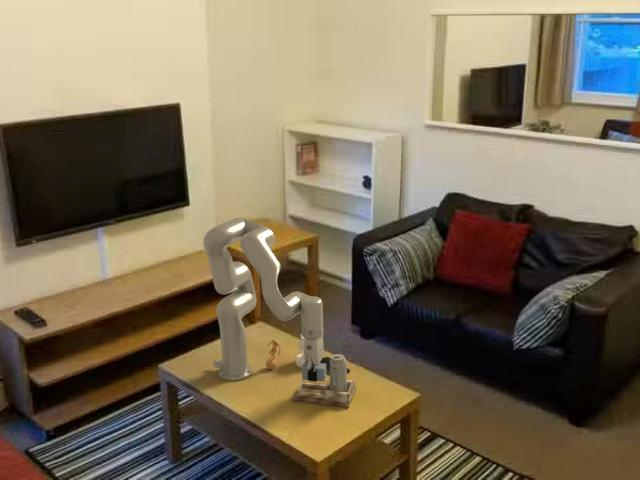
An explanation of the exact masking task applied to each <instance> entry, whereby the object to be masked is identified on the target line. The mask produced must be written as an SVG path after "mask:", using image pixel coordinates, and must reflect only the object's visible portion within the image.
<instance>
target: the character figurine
mask: <svg viewBox="0 0 640 480" xmlns="http://www.w3.org/2000/svg"><path fill="white" fill-rule="evenodd" d="M299 335H300V336H299V337H300V340H299V342H298V350H299V352H302V353H300V354H298V355H297V356H295V365H296V366H297V367H299V368H301V369H302V366H303V364H304V362H305V360H304V340H305V338H304V337H303V336H302V333H301V334H299Z"/></svg>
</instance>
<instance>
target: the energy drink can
mask: <svg viewBox="0 0 640 480" xmlns="http://www.w3.org/2000/svg"><path fill="white" fill-rule="evenodd" d="M330 358H331V360H330V375H329V378H330V391H338V392H347V380H348V374H347V368H348V367H347V365H348V363H347V362H348V361H347V359H346V356H345V354H341V353H335V354H332V355H331V357H330Z"/></svg>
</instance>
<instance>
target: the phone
mask: <svg viewBox="0 0 640 480" xmlns="http://www.w3.org/2000/svg"><path fill="white" fill-rule="evenodd" d="M330 360H331V357H329V356H323V357H322V359H321V361H320V363H323V364H326V375H327V374H328V375H329V376H330ZM349 373H351V369H350V368H348V367H347V375H348V374H349Z"/></svg>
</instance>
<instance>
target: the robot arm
mask: <svg viewBox="0 0 640 480" xmlns="http://www.w3.org/2000/svg"><path fill="white" fill-rule="evenodd" d="M275 242H276V235H275V234H274V232H273V231H272V230H271V228H269V227H268V226H265V225H263V224H261V223H258V222H255V221H252V220H249V219H246V218H245V217H244V218H243V217H235V218H232V219H230V220H228V221H225V222H222V223H219V224H217V225H216V226H214V227H212V228H211V229H209V230H208V231H207V232H206V233H205V236H204V237H203V248H204V252H205V254H206V256H207V260H208V263H209V269H210V272H211V273H210V274H211V277H212V282H213V285H214V289H215V290H216V292H217V293H218V294H220V295H227V296H225V297H223V299H221V300H220V301H219V302H218V304H217V306H216V307H215V310H216V311H215V312H216V316H217V320H218V325H219V333H220V345H221V347H220V348H221V349H220V350H221V360H218V359H213V361H212V364H213V368H219V370H218V375H219V377H220V378H221V379H223V380H225V381H241V380H245V379H248V377H249V376H251V375H252V373H253V369H252V366H251V365H249V364H248V351H247V334H246V327H245V325H244V323H243V321H242V319H243V317H245V316H246V315H248V314H249V313H251V312H252V311H254V309H255V308H256V306H257V294H256V289H255V285H254V280H253V276H252V273H251V270H250V269H249V267H248V265H246V264H245V263H244V262H241V261H234V262H233V257H232V255H231V252H230V251H229V250H228V249H227V248H229V247H230V246H233V245H235V244H237V243H239V245H240V249H241V250H242V252H243V254H244V255H245V257H246V258H247V259H248V261H249V262H250V264H251V265H252V267H253V268H254V270H255V271H256V272H257V274H258V275H259V278H260V280H261V281H260V283H261V285H260V286H261V291H262V292H261V293H262V295H263V300H264V302H265V304H266V306H267V307H268V308H269V310H270V311H271V313H272V314H273V315H274V316H275V318H277V319H278V320H279V321H282V322H287V321H291V320H292V319H293V318H294V317H296V316H297V315H299V314H300V315H301V318H300V319H301V334H302V336H303V337H304V338H305V340H304V351H303V352H304V360H305V364H307V370H308V380H307V382H315V383H317V382H318V381H317V371H316V365H318V364H319V363H320V361H321V359H322V358H324V356H325V355H324V354H325V348H324V338H323V337H324V315H323V314H324V313H323V311H324V310H323V309H324V308H323V305H324V304H323V300H322V298H320V297H319V296H315V295H308V294H306V293H303V292H301V291H291V292H290V293H289V294H287V295H286V296H285V297H283V295H282V294H281V291H280V290H279V285H278V277H279V273H280V271H281V269H282V268H281V267H282V266H281V262H280V261H279V259H278V257H276V255H275V254H274V252H273V251H272V250H271V248H272V247H273V245H275ZM228 294H229V295H228ZM311 365H314V368H313V367H311Z"/></svg>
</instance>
